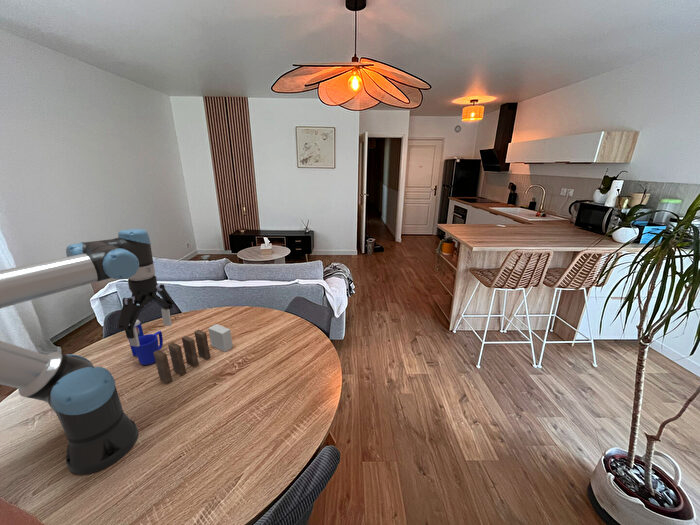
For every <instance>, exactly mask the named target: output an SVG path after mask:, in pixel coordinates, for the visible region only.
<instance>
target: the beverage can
mask: <svg viewBox="0 0 700 525" xmlns="http://www.w3.org/2000/svg"><path fill="white" fill-rule="evenodd" d="M129 325H130V324H129ZM134 327H136V329H137V334H138V337H141V336H143V335H145V334H144V332H143V330H144V329H143V326H142V322H141V320H139V319H137V321H136V323H135V325H134ZM127 339H128V342H129V344H130V341H129V338H127ZM129 346H130V345H129ZM130 350H131V353H132V356H134V357H137V355H136V352H135V350H134V347H133V346H130Z"/></svg>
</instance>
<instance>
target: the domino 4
mask: <svg viewBox="0 0 700 525" xmlns="http://www.w3.org/2000/svg"><path fill="white" fill-rule="evenodd" d="M193 332H194V337H195V342H196V343H195V345H196V350H197V355H198V358H202V359H204V360H206V361H208V360H210V359H211V352H210V347H209V341H208V334H207V332H205V331H203V330H201V329H197V330H195V331H193Z"/></svg>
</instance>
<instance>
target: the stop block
mask: <svg viewBox="0 0 700 525" xmlns="http://www.w3.org/2000/svg"><path fill="white" fill-rule="evenodd" d="M208 333H209V334H208V336H209V339H210V340H209V341H210V344H211V347H213V348H214V349H217V350H219V351H222V352H224V353H227V352H228V351H230V350H231V349H233V347H234V346H233V345H234V344H233V339H232V333H231V329H230V328H228V327H225V326H222V325H220V324H217V323H216V324H213V325H212V326H210V327H208Z"/></svg>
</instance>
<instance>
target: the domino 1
mask: <svg viewBox="0 0 700 525" xmlns="http://www.w3.org/2000/svg"><path fill="white" fill-rule="evenodd" d="M153 353H154V357H155V361H156V362H155V365H156V370H157V373H158V377H159V380H160V381H161V382H164V383H165V384H167V385H170V384H171V383H172V382H173V381H174V380H173V376H172V372H171V368H170V363H169V359H168V355H167V353H166V352H164V351H162V350H161V349H160V350H157V351H155V352H153Z"/></svg>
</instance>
